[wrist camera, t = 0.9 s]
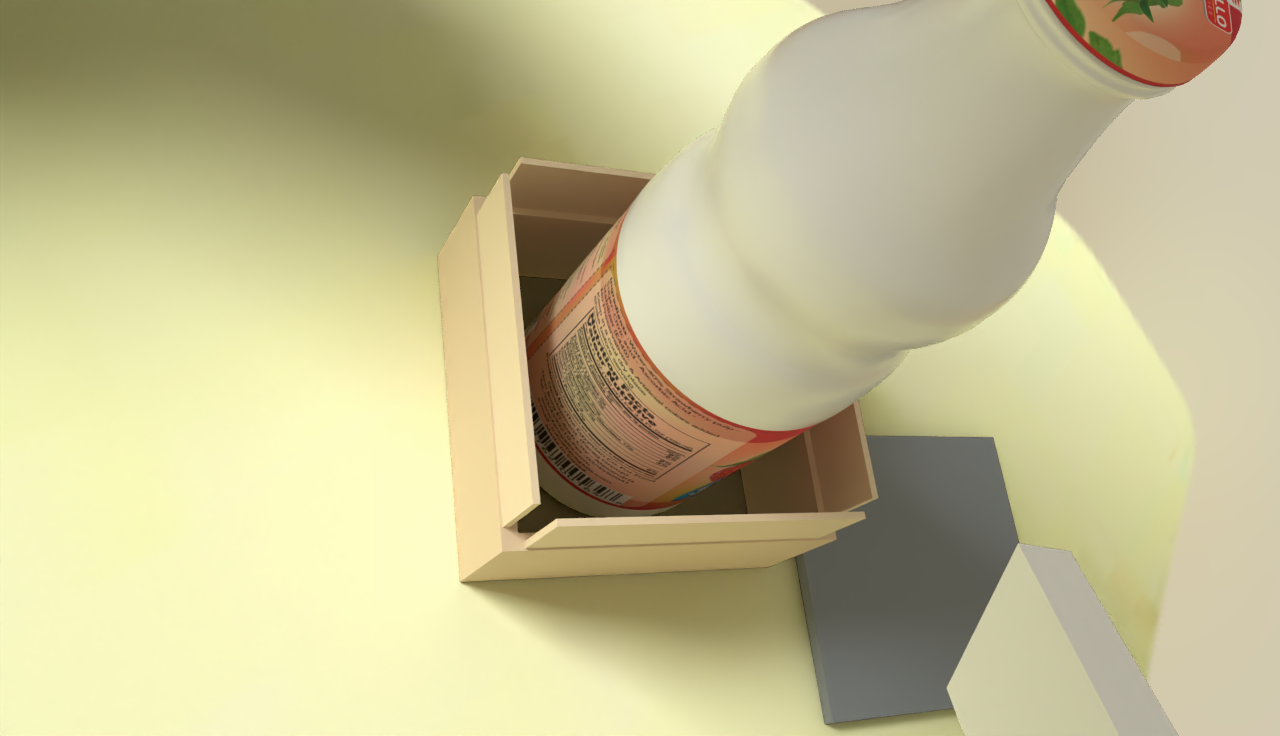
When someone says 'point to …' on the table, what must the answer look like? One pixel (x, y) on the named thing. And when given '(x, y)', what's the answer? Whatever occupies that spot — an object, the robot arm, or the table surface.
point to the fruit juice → (833, 230)
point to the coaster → (907, 577)
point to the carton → (503, 426)
